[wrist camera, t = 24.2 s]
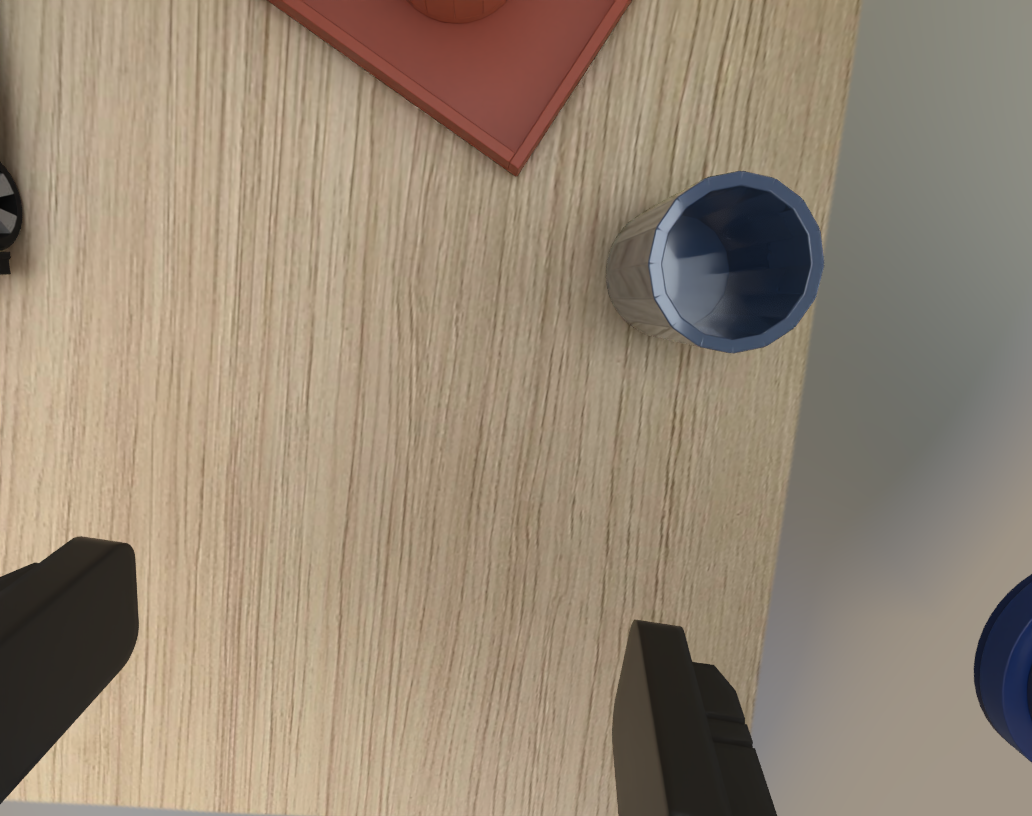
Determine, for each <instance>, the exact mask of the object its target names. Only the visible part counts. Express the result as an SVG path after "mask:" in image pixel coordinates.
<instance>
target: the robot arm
mask: <svg viewBox="0 0 1032 816" xmlns="http://www.w3.org/2000/svg"><path fill="white" fill-rule="evenodd" d="M138 630H139V619H138V600H137V582H136V563H135V554H134V550H133V548H132V547H131V546H130V545H129V544H128V543H122V542H115V541H108V540H102V539H95V538H88V537H76V538H73V539H72V540H70V541H69V542H67V543H66V544H65V545H63V546H62V547H60V548H59V549H58V550H56V551H55V552H54V553H52V554H51V555H50V556H48V557H47V558H46V559H44V560H43V561H41V562H40V563H33V564H30V565H28V566H25V567H23V568H21V569H18V570H16V571H14V572H11V573H9V574H6V575H4V576H2V577H0V804H1V803H2V802H3V801H4V799H5V798H6V797H7V796H8V795H9V794H10V793H11V792H12V791H13V789H14V788H15V787H16V786H17V785H18V784H19V783H20V782H21V781H22V779H23V778H24V777H25V776H26V775H27V774H28V773H29V772H30V771H31V769H32V768H33V767H34V766H35V765H36V764H37V763H38V762H39V761H40V759H41V758H42V757H43V756H44V755H45V754H46V753H47V752H48V750H49V749H50V748H51V747H52V746H53V745H54V744H55V743H56V742H57V740H58V739H59V738H60V737H61V736H62V735H63V734H64V733H65V732H66V730H67V729H68V728H69V727H70V726H71V725H72V724H73V723H74V722H75V720H76V719H77V718H78V717H79V716H80V715H81V714H82V713H83V712H84V710H85V709H86V708H87V707H88V706H89V705H90V704H91V703H92V701H93V700H94V699H95V698H96V697H97V696H98V695H99V694H100V693H101V691H102V690H103V689H104V688H105V687H106V686H107V685H108V684H109V683H110V681H111V680H112V679H113V678H114V677H115V676H116V675H117V674H118V673H119V671H120V670H121V669H122V668H123V667H124V666H125V664H126V663H127V661H128V660H129V658H130V656H131V654H132V652H133V649H134V647H135V644H136V640H137V636H138ZM1027 700H1028V707H1029V711H1030V715H1031V718H1032V667H1031V670H1030V674H1029V679H1028V687H1027ZM612 743H613V755H614V767H615V779H616V790H617V802H618V814H619V816H777V814H776V811H775V808H774V805H773V802H772V799H771V796H770V793H769V790H768V787H767V784H766V781H765V778H764V775H763V771H762V769H761V765H760V763H759V760H758V756H757V754H756V750H755V748H753V746H752V744H753V741H752V738H751V735H750V732H749V729H748V726H747V724H745V717H744V714H743V711H742V708H741V705H740V702H739V699H738V696H737V693H736V691H735V690H734V688H733V687H732V686H731V685H730V684H729V682H728V681H727V680H726V679H725V678H724V676H723V675H722V674H721V673H720V672H719V670H718V669H717V668H716V667H715V666H714V665H710V664H703V663H696V662H692V659H691V656H690V652H689V648H688V644H687V640H686V637H685V633H684V630H683V628H682V627H681V626H674V625H668V624H661V623H654V622H647V621H641V620H634V621H633V623H632V625H631V628H630V632H629V637H628V641H627V646H626V651H625V656H624V660H623V665H622V670H621V675H620V679H619V684H618V689H617V693H616V698H615V704H614V712H613V725H612Z"/></svg>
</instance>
